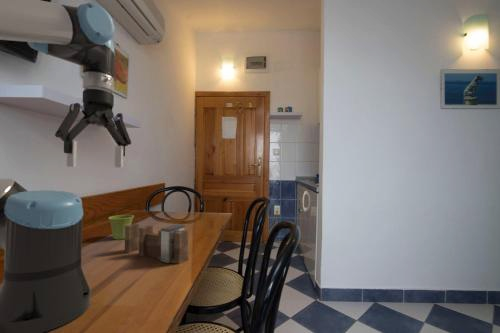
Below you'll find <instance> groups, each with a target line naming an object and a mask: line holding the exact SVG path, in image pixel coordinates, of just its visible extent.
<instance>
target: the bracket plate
mask: <svg viewBox="0 0 500 333" xmlns="http://www.w3.org/2000/svg"><path fill="white" fill-rule="evenodd" d="M160 230H161V260H160V262H162V263H166V264H167V263H168V264H170V263H173V262H172V261H174V241H175V233H176V232H179V231H182V230H185V224H180V223H175V224H172V225H168V226H164V227H161V228H160Z"/></svg>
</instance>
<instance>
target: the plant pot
mask: <svg viewBox="0 0 500 333" xmlns="http://www.w3.org/2000/svg"><path fill="white" fill-rule="evenodd" d="M134 218H135V216H134V214H120V215H119V214H118V215H117V214H116V215H113V216H109V217H108V220H109V223H110V226H111V227H110V228H111V234H112V239H114V240H125V226H126V225H130V224H133V223H132V222H133V219H134Z"/></svg>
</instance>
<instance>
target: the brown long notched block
mask: <svg viewBox="0 0 500 333" xmlns="http://www.w3.org/2000/svg"><path fill="white" fill-rule="evenodd" d="M157 232H158V233H156V232H154V226H153V225H149V224H148V225H144V226H141V227H140V224H139V223H131V224H130V225H126V226H125V238H124V253H126V254H130V253H134V252H136V251H138V256H141V257H145V256H147V257H152V258H157V260H160V261H161V229H159V230H158V231H157ZM188 260H189V230H185V229H184V230H182V231H179V232H176V233H175V241H174V261H172V262H171V263H174V264H179V265H180V264H183V263H184V262H186V261H188Z"/></svg>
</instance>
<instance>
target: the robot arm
mask: <svg viewBox="0 0 500 333" xmlns="http://www.w3.org/2000/svg"><path fill="white" fill-rule="evenodd" d="M115 30H116V28H115V24H114V20H113V18H112V16H111V15H110V14H109V12H107V10H106V9H105V8H104V7H102V6H101V5H99V4H97V3H94V2H86V3H85V4H84V3H83V4H82V3H81V4H79V5H78V6H72V5H71V6H70V5H66V4H60V3H55V2H50V1H45V0H0V40H1V41H14V42H26V43H27V44H28V46H29V47H30V48H31V49H33V50H35V51H37V52H39V53H43V54H45V55H48V56H52V57H53V58H56V59H60V60H63V61H67V62H69V63H72V64H75V65H78V66H81V67H82V88H83V90H82V103H83V104H82V105H81V104H80V103H78V102H75V103H70V105H69V110H68V113H67V114H66V116H65V118H64V119H63V120H62V122H61V124H60V125H59V127H58V129H56V132H55V133H54V137H56V138H59V139H61V141H62V142H63V153H64V154H66V167H69V168H71V167H73V168H74V167H77V154H78V153H77V151H78V149H77V147H78V143H77V142H78V141H77V140H74V139H75V138H76V137H77V136H79V135H80V133H81V132H82V131H83V130H85V129H86V128H87V127H88V126H89V125H96V126H98V127H99V126H100V127H101V126H102V127H103V128H104V129H106V130H107V132H108V133H109V134H110V136H111V137H112V139H113V140H114V142H115V143H116V145H115V146H114V168H124V158H125V157H126V147H128V145H131V144H132V141H131V138H130V136H129V133H128V131H127V128H126V125H125V122H124V117H123V113H122V112H119V113H116V112H115V113H114V111H113V108H114V105H115V104H114V102H115V101H114V99H115V95H114V94H113V93H115V91H114V90H115V89H114V88H115V58H116V54H115V43H114V41H113V38H114V36H115V33H116V32H115ZM80 113H82V114H83V115H84V116H83V117H81V119H80V120H79V122H77V123H76V124H75V125H74V122H75V121H76V120H77V118H78V117H79V114H80ZM73 125H74V126H73ZM83 217H84V208H83V201H82V199H81V197H80V196H79V195H77V194H76V193H73V192H69V191H62V190H60V191H59V190H51V189H50V190H48V189H47V190H46V189H45V190H28V189H26V188H25V187H23V185H21V184H20V183H18V182H17V181H15V180H14V179H13V178H0V250H3V251H4V257H3V258H4V259H3V260H4V261H3V262H4V263H3V266H4V267H3V269H4V270H3V271H4V272H3V283H2V285H1V287H0V333H46V332H49V331H51V330H55V329H56V328H59V327H61V326H64V325H66V324H69V323H70V322H72V321H74V320H76V319H77V318H79V317H80V316H82V315H83V314H84V313H85V312H86V311H87V310H88V309H89V307H90V305H91V293H92V292H91V289H90V286H89V283H88V281H87V279H86V276H85V273H84V271H83V267H82V251H83V250H82V248H83V247H82V245H83V243H82V242H83Z"/></svg>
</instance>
